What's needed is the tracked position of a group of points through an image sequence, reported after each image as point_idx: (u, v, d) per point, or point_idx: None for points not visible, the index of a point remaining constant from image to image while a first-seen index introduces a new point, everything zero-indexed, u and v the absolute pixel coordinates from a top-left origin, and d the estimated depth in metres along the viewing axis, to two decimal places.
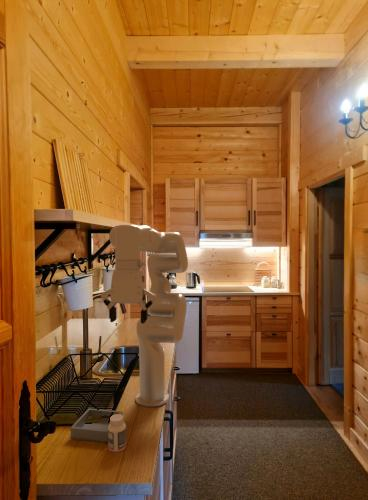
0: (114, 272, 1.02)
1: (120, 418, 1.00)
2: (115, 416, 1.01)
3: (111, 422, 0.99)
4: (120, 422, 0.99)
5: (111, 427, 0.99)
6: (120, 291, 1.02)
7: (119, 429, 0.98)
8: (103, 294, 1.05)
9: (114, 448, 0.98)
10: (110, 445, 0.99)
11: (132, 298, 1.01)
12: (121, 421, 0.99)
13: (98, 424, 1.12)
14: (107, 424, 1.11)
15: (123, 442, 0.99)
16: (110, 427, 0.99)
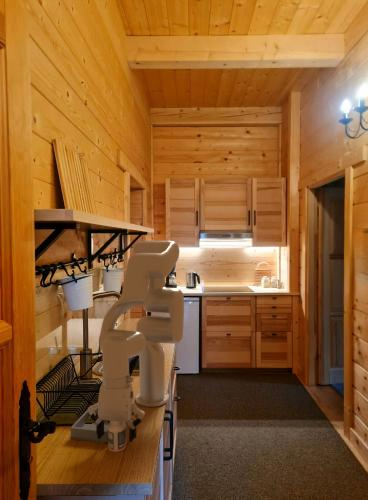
0: (101, 388, 0.98)
1: None
2: None
3: (111, 422, 0.99)
4: (120, 422, 0.99)
5: (111, 427, 0.99)
6: (107, 409, 0.98)
7: (119, 429, 0.98)
8: (90, 408, 1.01)
9: (114, 448, 0.98)
10: (110, 445, 0.99)
11: (120, 417, 0.97)
12: None
13: None
14: (107, 424, 1.11)
15: (123, 442, 0.99)
16: (110, 427, 0.99)
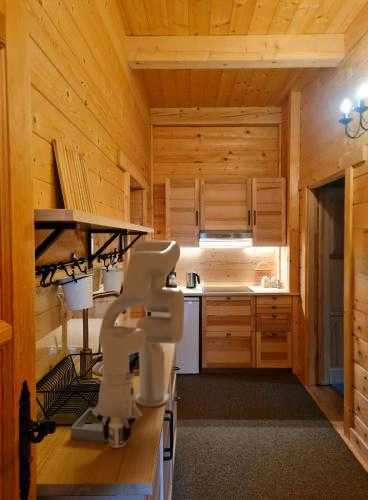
0: (102, 385, 0.98)
1: None
2: None
3: (112, 418, 0.99)
4: (121, 418, 0.99)
5: (112, 423, 0.99)
6: (108, 406, 0.98)
7: (119, 425, 0.99)
8: (94, 410, 1.01)
9: (115, 444, 0.98)
10: (110, 441, 0.99)
11: (120, 413, 0.97)
12: None
13: (98, 424, 1.12)
14: None
15: None
16: (111, 423, 0.99)
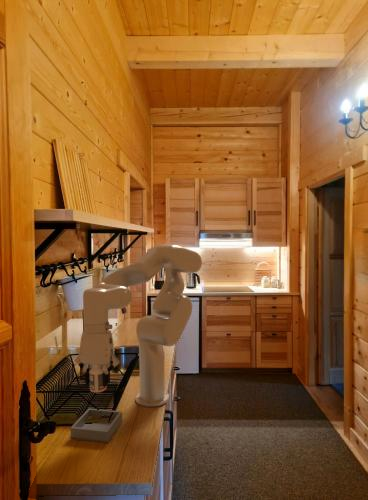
0: (83, 335, 1.07)
1: None
2: None
3: (92, 365, 1.07)
4: (100, 365, 1.07)
5: (92, 370, 1.07)
6: (88, 353, 1.06)
7: (99, 371, 1.07)
8: (76, 359, 1.09)
9: (95, 389, 1.07)
10: (91, 386, 1.07)
11: (100, 360, 1.06)
12: (101, 365, 1.08)
13: (98, 424, 1.12)
14: (107, 424, 1.11)
15: None
16: (91, 370, 1.08)
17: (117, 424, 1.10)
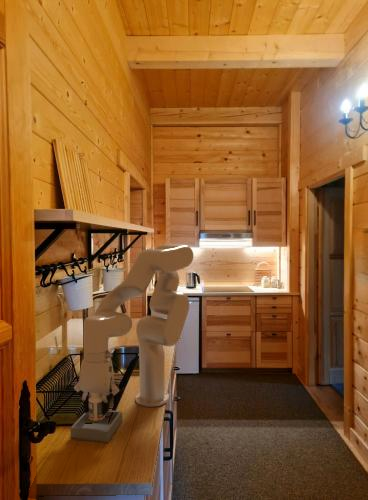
0: (83, 363, 1.07)
1: None
2: None
3: (91, 393, 1.08)
4: (100, 394, 1.08)
5: (91, 398, 1.08)
6: (88, 382, 1.07)
7: (98, 399, 1.07)
8: (76, 386, 1.09)
9: (94, 417, 1.07)
10: (90, 415, 1.07)
11: (99, 388, 1.06)
12: (100, 393, 1.08)
13: (98, 424, 1.12)
14: (107, 424, 1.11)
15: None
16: (90, 398, 1.08)
17: (117, 424, 1.10)
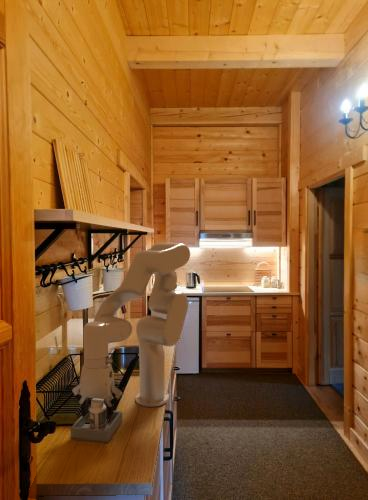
0: (83, 369, 1.07)
1: (100, 400, 1.09)
2: (96, 399, 1.10)
3: (92, 404, 1.08)
4: (100, 404, 1.08)
5: (92, 408, 1.08)
6: (88, 387, 1.07)
7: (99, 410, 1.08)
8: (74, 389, 1.10)
9: (95, 427, 1.08)
10: (91, 425, 1.08)
11: (100, 394, 1.06)
12: (101, 403, 1.09)
13: None
14: (107, 424, 1.11)
15: (103, 422, 1.09)
16: (91, 409, 1.08)
17: (117, 424, 1.10)
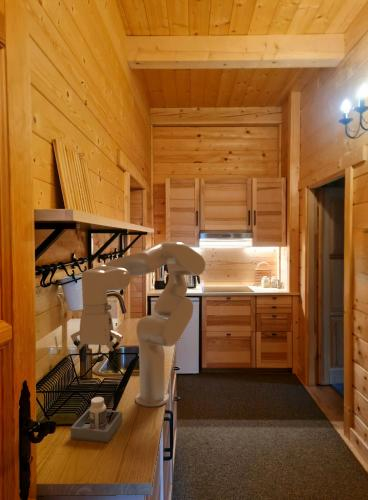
0: (82, 316, 1.07)
1: (100, 400, 1.10)
2: (96, 399, 1.10)
3: (92, 404, 1.08)
4: (101, 403, 1.09)
5: (92, 408, 1.08)
6: (88, 334, 1.07)
7: (99, 409, 1.08)
8: (73, 335, 1.10)
9: (95, 427, 1.08)
10: (91, 425, 1.08)
11: (100, 340, 1.07)
12: (101, 402, 1.09)
13: None
14: (107, 424, 1.11)
15: (103, 422, 1.09)
16: (91, 408, 1.08)
17: (117, 424, 1.10)
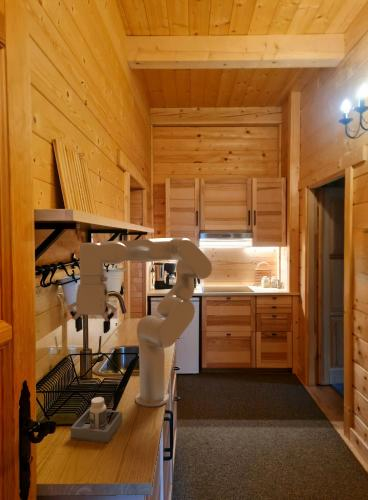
0: (79, 286, 1.12)
1: (101, 400, 1.09)
2: (96, 399, 1.10)
3: (92, 404, 1.08)
4: (101, 404, 1.08)
5: (92, 408, 1.08)
6: (84, 304, 1.11)
7: (100, 410, 1.08)
8: (70, 306, 1.14)
9: (95, 427, 1.08)
10: (91, 425, 1.08)
11: (95, 310, 1.11)
12: (102, 403, 1.09)
13: None
14: (107, 424, 1.11)
15: (104, 422, 1.09)
16: (92, 408, 1.08)
17: (117, 424, 1.10)
